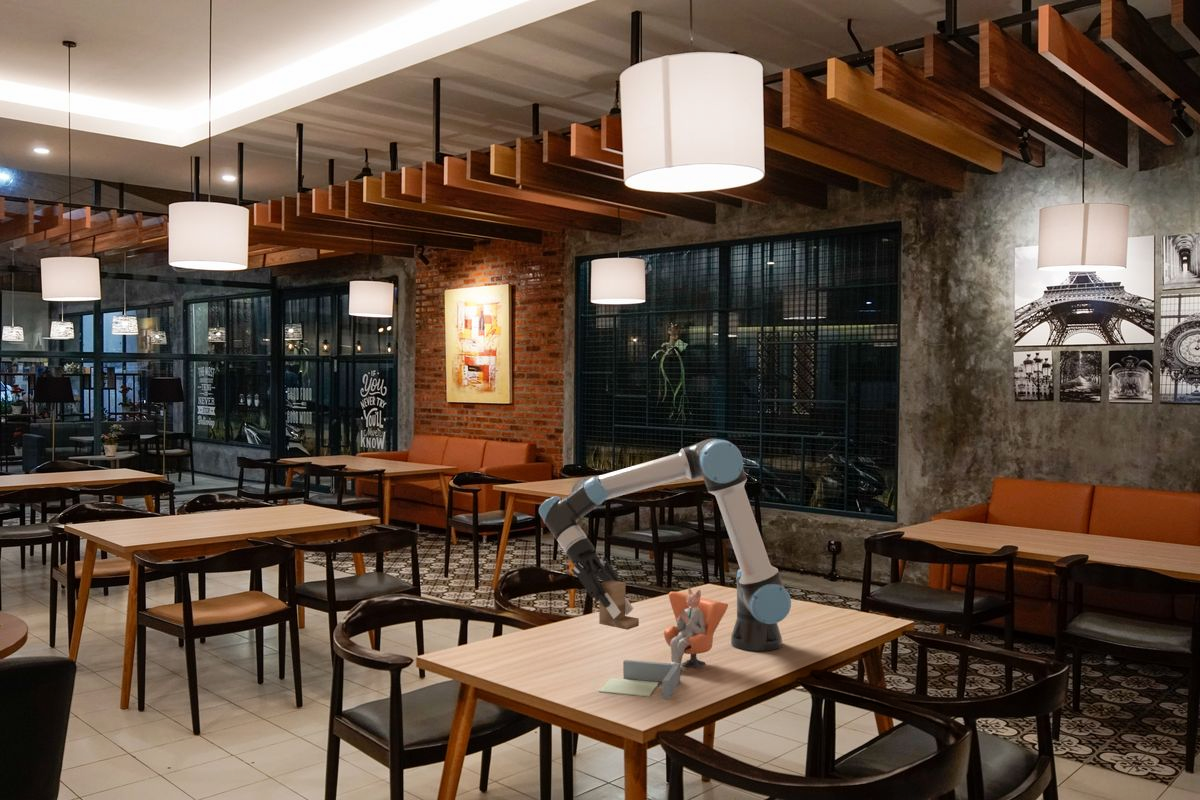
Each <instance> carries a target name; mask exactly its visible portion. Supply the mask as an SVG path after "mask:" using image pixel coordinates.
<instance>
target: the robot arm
mask: <svg viewBox="0 0 1200 800" xmlns="http://www.w3.org/2000/svg"><path fill="white" fill-rule="evenodd" d="M743 458H744V457H743V456H742V453H741V450H740V449H739V448H738V447H737V445H735V444H734V443H732V442H731V441H729V440H726V439H721V438H715V437H714V438H713V437H712V438H708V439H707V438H706V439H704V440H702V441H700V442H697V443H694V444H692V445H689V446H686V447H683V448H681V449H680V450H679V452H678V453H673V454H670V455H667V456H663V457H660V458H656V459H653V460H650V461H646V462H642V463H639V464H635V465H631V466H629V467H628V466H627V467H625V468H621V469H618V470H614V471H611V472H607V473H603V474H600V475H597V476H592V477H590V478H583V479H579V480H577V482H575V483H574V485H573V487H572V489H571V492H570V493H569V494H567V495H566V496H565V497H563V498H560V496H557V495H555V496H552V497H550V498H546V499H545V500H544V501H543V502H542V503H541V504H540V506H539V508H538V514H539V516H540V518H541V520H543V521H542V522H543V523H544V525H545V526H546V527H547V528H548V530H549V531H550V533H551V535H552V536H553V537H554V539H555V540H556V541H557V543H558V544H559V546H560V547H561V549H562V551H564V552H565V553H566V556H567V558H568V559H569V561H570V562H571V563H572V565H574V566H573V567H572V569H571V572H572V573H573V574H575V576H576V577H577V578H578V579H579V581H580V583H581V584H582V586H583V587H584V589H585V591H586V592H587V594H588V595H589V597H591V599H594V601H597V602H599V600H600V601H601V602H602V604H603V605H604V607H605V608H606V609H607V610H608V612H609V613H610V615H611V616H612V617H613V619H615V618H616V617H617V616H618V615H619V614H620V613H621V612H620V610H619V609H618V607H617V606H616V604H615V603H614V601H613V600H612V599H611V597H610V596H609V594H608V593H605V592H604V590H603V588H602V586H601V584H600V583H601V581H602V582H606V581H610V580H612V581H618V582H623V581H622V579H621V578H620V577H619V575H618V574H617V572H616V571H615V570H614V568H613V567H612V565H611V564H610V561H609V559H608V558H607V557H604V558H599V556H598V555H597V554H596V553H595V552H596V551H595V550H596V549H595V546H594V545H593V543H592V542H591V540H590V539H589V538H588V536H587V534H586V533H585V532H584V530H583V529H582V528H581V527H580V525H579V523H578V521H579V520H581V519H582V518H583V517H585V516H586V515H587V514H589V513H590V512H592V511H594V509H595V508H597V507H599V506H601V505H602V503H604V501H607V500H611V499H614V498H617V497H620V496H623V495H629V494H631V493H635V492H639V491H642V490H646V489H649V488H653V487H657V486H660V485H663V484H667V483H671V482H675V481H678V480H680V479H685V478H686V479H688V480H690V481H691V480H693V479H697V478H703V480H704V483H705V487H706V489H707V492H708V493H709V494H711V495H714V496H715V499H716V501H717V504H718V507H719V511H720V513H721V517H722V520H723V522H724V525H725V528H726V531H727V535H728V537H729V540H730V543H731V546H732V549H733V551H734V555H735V557H736V560H737V563H738V566H739V569H738V570H737V574H736V578H735V579H736V620H735V623H734V627H733V630H732V633H731V636H730V645H732V646H733V647H735V648H737V649H741V650H744V651H755V652H756V651H757V652H766V651H773V650H774V651H775V650H777V649H780V648H782V646H783V638H782V634H781V631H780V628H779V625H778V624H779V622H782V621H783V620H784V619H786V618H787V616H788V614H789V613H790V611H791V608H792V599H791V595H790V592H789V591H788V590H787V588H785V585H784V582H783V580H782V578H781V575H780V572H779V569H778V568H777V567H775V566H773V565H772V564H771V562H770V559H769V557H768V556H769V555H768V553H767V550H766V547H765V544H764V541H763V538H762V535H761V533H760V530H759V526H758V524H757V522H756V519H755V515H754V512H753V509H752V507H751V503H750V501H749V498H748V494H747V491H746V489H745V484H746V482H747V480H748V478H747V475H746V473H745V469H744V459H743ZM599 579H600V580H601V581H600V580H599ZM604 593H605V594H604ZM633 610H634V607H633V605H632V604H631V602H630V601H629V599H628V597H627V596H626V595H625V616H629V614H630V613H631V612H632V611H633Z"/></svg>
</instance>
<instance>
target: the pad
mask: <svg viewBox="0 0 1200 800" xmlns="http://www.w3.org/2000/svg"><path fill="white" fill-rule="evenodd" d="M659 682H660V681H649V680H638V679H627V678H615V677H610V678H609V679H608V680H607V681H606V683H605V684H604V685H602V687H601V688H600V689H599V691H598V692H599V693H603V694H605V693H606V694H614V695H615V694H616V695H624V696H625V695H626V696H636V697H637V696H638V697H647V698H648V697H650V696H651V695H652V693H653V692H654V691H655V689H656V688H657V686H658V685H659Z"/></svg>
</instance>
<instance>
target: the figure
mask: <svg viewBox="0 0 1200 800" xmlns="http://www.w3.org/2000/svg"><path fill="white" fill-rule="evenodd" d="M687 589H688V593H684V592H679V591H670V592H669V593H668V600H669V603H670V606H671V608H672V611H673V615H674V617H675V621H676V625H670V626H667V627H665V629H664V630H663V636H664V637H663V638H664V639H665V642H666V644H667V645H668V646H669V647H670V654H671V656H670V657H671V658H670V659H671V660H670V661H671V662H670V664H680V670H681V669H682V667H689V666H693V668H694V669H700V668H701V666H702V665H703V666H704V665H706V662H705V661H703V660H700V659H698V658H697V655H698V654H703V653H707V652H709V651H711V649H712V648H713V639H714V634H715V632H716V630H717V628H718V626H719V624H720V622H721V620H722V619H723V617H724V616H725V614H726V612H727V610H728V605H729V604H728V603H727V602H721V601H716V600H712V599H707V598H705V597H702V593H701V589H699V590H696V592H695V594H694V593H693V591H692V589H691V587H688V588H687ZM684 654H685V655H686V654H687V655H690V658H689V659H686V661H684V662H682V660H683V657H684Z"/></svg>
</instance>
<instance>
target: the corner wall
mask: <svg viewBox="0 0 1200 800" xmlns="http://www.w3.org/2000/svg"><path fill="white" fill-rule="evenodd" d="M670 663H671V662H670ZM670 663H667V662H656V661H645V660H644V661H643V660H632V659H631V660H630V659H623V664H622V665H623V666H622V667H623V678H622V679H627V680H638V681H650V682H661V683H662V690H661V691H662V699H664V700H665V699H666V700H669V699H670V698H671V696H672V694H673V693H674V691H675V690H676V689H677V687H678V685H679V684H680V683H681V669H680V664H670Z"/></svg>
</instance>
